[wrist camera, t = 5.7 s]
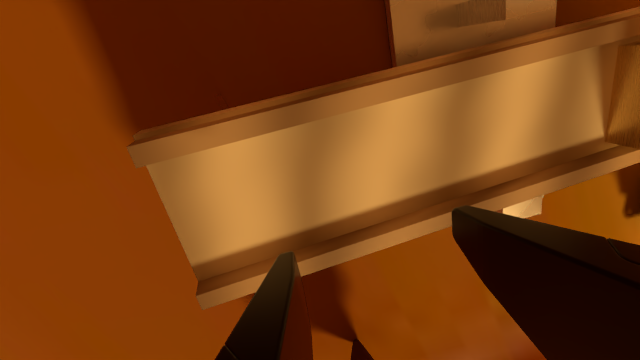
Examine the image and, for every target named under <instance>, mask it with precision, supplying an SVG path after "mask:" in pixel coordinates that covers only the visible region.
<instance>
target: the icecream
mask: <svg viewBox="0 0 640 360" xmlns="http://www.w3.org/2000/svg"><path fill="white" fill-rule="evenodd" d="M351 360H374V359H373V358H372V357H371V355H370V354H369V353H368V351H367V350H366V349H365V348H364V346H363V345H362V344H361V343H360V341H359V340H354V341H353V346H352V353H351Z"/></svg>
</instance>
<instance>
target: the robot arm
mask: <svg viewBox="0 0 640 360" xmlns="http://www.w3.org/2000/svg"><path fill="white" fill-rule="evenodd" d="M452 233H453V237H454V239H455V241H456V243H457V244H458V246H459V247H460V249H461V250H462V252H463V253H464V255H465V256H466V258H467V259H468V261H469V262H470V264H471V265H472V267H473V268H474V270H475V271H476V273H477V274H478V276H479V277H480V279H481V280H482V281H483V283H484V284H485V285H486V287H487V288H488V289H489V290H490V292H491V293H492V294H493V295H494V296H495V298H496V299H497V300H498V301H499V302H500V304H501V305H502V306H503V307H504V308H505V310H506V311H507V312H508V313H509V314H510V316H511V317H512V318H513V319H514V320H515V322H516V323H517V324H518V325H519V326H520V328H521V329H522V330H523V331H524V333H525V334H526V335H527V336H528V337H529V339H530V340H531V341H532V342H533V343H534V345H535V346H536V347H537V348H538V349H539V351H540V352H541V353H542V354H543V355H544V357H545V358H546V359H547V360H640V245H636V244H631V243H627V242H623V241H619V240H614V239H610V238H609V239H606V238H605V237H601V236H597V235H593V234H588V233H584V232H580V231H576V230H571V229H567V228H563V227H558V226H554V225H550V224H546V223H541V222H537V221H533V220H529V219H524V218H520V217H516V216H512V215H507V214H503V213H499V212H494V211H490V210H486V209H482V208H477V207H473V206H469V205H464V206H460V207H456V208H454V209H453V210H452ZM215 360H313V350H312V336H311V327H310V321H309V315H308V310H307V305H306V300H305V294H304V289H303V284H302V279H301V275H300V271H299V268H298V264H297V261H296V257H295V254H294V252H293V251H289V252H285V253H281V254H279V255H278V257H277V258H276V260H275V262H274V263H273V265H272V267H271V268H270V270H269V272H268V273H267V275H266V277H265V278H264V280H263V281H262V283H261V285H260V286H259V288H258V290H257V291H256V293H255V295H254V296H253V298H252V300H251V301H250V303H249V304H248V306H247V308H246V309H245V311H244V313H243V314H242V316H241V318H240V319H239V321H238V323H237V324H236V326H235V327H234V329H233V331H232V332H231V334H230V336H229V337H228V339H227V341H226V342H225V345H224V346H223V347H222V349H221V350H220V352H219V354H218V355H217V357H216V358H215Z"/></svg>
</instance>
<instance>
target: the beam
mask: <svg viewBox="0 0 640 360" xmlns="http://www.w3.org/2000/svg"><path fill="white" fill-rule="evenodd" d="M636 41H640V6H639V7H635V8H631V9H627V10H623V11H619V12H615V13H611V14H607V15H603V16H599V17H595V18H591V19H587V20H583V21H579V22H575V23H571V24H567V25H563V26H559V27H555V28H551V29H547V30H543V31H539V32H535V33H531V34H527V35H523V36H519V37H515V38H511V39H507V40H503V41H499V42H495V43H491V44H487V45H483V46H479V47H475V48H471V49H467V50H463V51H458V52H454V53H450V54H446V55H442V56H438V57H434V58H430V59H426V60H422V61H418V62H414V63H410V64H406V65H402V66H398V67H394V68H390V69H386V70H382V71H378V72H374V73H370V74H366V75H362V76H358V77H354V78H350V79H346V80H342V81H338V82H334V83H330V84H326V85H322V86H318V87H314V88H310V89H306V90H302V91H298V92H294V93H290V94H286V95H282V96H277V97H273V98H269V99H265V100H261V101H257V102H253V103H249V104H245V105H241V106H237V107H233V108H229V109H225V110H221V111H217V112H213V113H209V114H205V115H201V116H197V117H193V118H189V119H185V120H181V121H177V122H173V123H169V124H165V125H161V126H157V127H153V128H149V129H145V130H141V131H139V132H137V133H136V134H134V135H133V138H134V140H135V141H134V142H133V143H131V144H130V145H129V146H127V149H128V151H129V154H130V156H131V158H132V160H133V162H134V164H135V166H136V168H139V167H143V166H146V167H147V169H148V171H149V173H150V175H151V178H152V180H153V182H154V184H155V186H156V189H157V191H158V193H159V195H160V198H161V200H162V202H163V204H164V206H165V209H166V211H167V213H168V215H169V218H170V220H171V222H172V224H173V226H174V229H175V231H176V233H177V235H178V238H179V240H180V242H181V244H182V246H183V249H184V251H185V253H186V255H187V257H188V260H189V262H190V264H191V266H192V269H193V271H194V273H195V275H196V277H197V280H198V287H197V292H196V298H197V300H198V302H199V304H200V306H201V308H202V310H204V309H207V308H210V307H213V306H216V305H219V304H222V303H225V302H228V301H231V300H234V299H237V298H240V297H242V296H245V295H248V294H251V293H254V292H256V291H257V290H258V288H259V286H260V285H261V283H262V281H263V280H264V278H265V277H266V275H267V273H268V272H269V270H270V268H271V267H272V265H273V263H274V262H275V260H276V258H277V257H278V255H279V254H281V253H285V252H289V251H293V252H294V254H295V257H296V261H297V264H298V268H299V271H300V275H301V277H302V276H305V275H308V274H311V273H314V272H317V271H320V270H323V269H325V268H328V267H331V266H334V265H337V264H340V263H343V262H346V261H349V260H352V259H355V258H358V257H361V256H364V255H367V254H370V253H373V252H376V251H379V250H382V249H385V248H388V247H391V246H394V245H397V244H400V243H403V242H406V241H408V240H411V239H414V238H417V237H420V236H423V235H426V234H429V233H432V232H435V231H438V230H441V229H444V228H447V227H450V226H452V210H453V209H454V208H456V207H460V206H464V205H469V206H473V207H477V208H482V209H486V210H490V211H497V210H500V209H503V208H506V207H509V206H512V205H515V204H518V203H521V202H524V201H527V200H530V199H533V198H536V197H539V196H542V195H545V194H548V193H551V192H554V191H557V190H560V189H563V188H566V187H569V186H572V185H574V184H577V183H580V182H583V181H586V180H589V179H592V178H595V177H598V176H601V175H604V174H607V173H610V172H613V171H616V170H619V169H622V168H625V167H628V166H631V165H634V164H637V163H640V149H636V148H632V147H627V146H622V145H617V144H613V143H608V142H605V136H606V129H607V122H608V115H609V108H610V101H611V94H612V87H613V80H614V73H615V66H616V59H617V51H618V46H621V45H625V44H628V43H632V42H636Z"/></svg>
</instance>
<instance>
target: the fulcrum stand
mask: <svg viewBox="0 0 640 360" xmlns="http://www.w3.org/2000/svg"><path fill="white" fill-rule="evenodd" d="M556 8H557V0H385V9H386V17H387V26H388V35H389V43H390V52H391V60H392V68H394V67H398V66H402V65H406V64H410V63H414V62H418V61H422V60H426V59H430V58H434V57H438V56H442V55H446V54H450V53H454V52H458V51H463V50H467V49H471V48H475V47H479V46H483V45H487V44H491V43H495V42H499V41H503V40H507V39H511V38H515V37H519V36H523V35H527V34H531V33H535V32H539V31H543V30H547V29H551V28H555V23H556ZM543 197H544V195H542V196H539V197H536V198H533V199H530V200H527V201H524V202H521V203H518V204H515V205H512V206H509V207H506V208H503V209H500V210H497V211H494V212H499V213H503V214H507V215H512V216H516V217H520V218H527V217H530V216H534V215H538V214H541V206H542V198H543Z"/></svg>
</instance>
